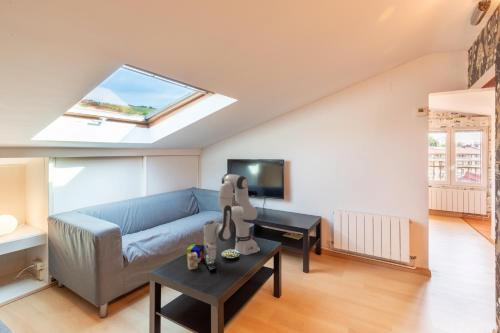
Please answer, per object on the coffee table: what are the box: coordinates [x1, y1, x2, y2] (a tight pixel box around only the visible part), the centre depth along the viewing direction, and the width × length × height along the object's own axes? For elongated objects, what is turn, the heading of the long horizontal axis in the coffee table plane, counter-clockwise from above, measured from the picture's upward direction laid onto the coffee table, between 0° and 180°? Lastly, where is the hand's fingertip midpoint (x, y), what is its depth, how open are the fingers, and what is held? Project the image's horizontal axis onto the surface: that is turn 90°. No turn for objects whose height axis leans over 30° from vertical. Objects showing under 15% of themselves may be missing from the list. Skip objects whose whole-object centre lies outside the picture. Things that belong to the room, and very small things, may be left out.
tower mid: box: [187, 252, 198, 263], centre depth 188 cm, size 6×6×5 cm
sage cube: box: [205, 254, 215, 264], centre depth 193 cm, size 5×5×5 cm
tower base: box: [187, 261, 198, 271], centre depth 188 cm, size 6×6×5 cm
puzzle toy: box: [186, 243, 205, 264], centre depth 202 cm, size 10×10×10 cm
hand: (210, 260), depth 193 cm, fingers closed on sage cube, 5 cm apart
